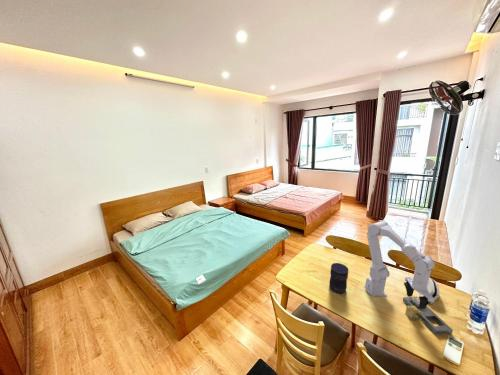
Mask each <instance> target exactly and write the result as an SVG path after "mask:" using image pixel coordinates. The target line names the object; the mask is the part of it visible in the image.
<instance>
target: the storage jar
mask: <svg viewBox="0 0 500 375" xmlns="http://www.w3.org/2000/svg"><path fill="white" fill-rule="evenodd" d="M330 265H331V266H330V277H329V286H328V287H329V290H330V291H331V292H333V293H334V294H336V295H337V294H338V295H344V294H345V293H346V292H347V287H348V282H347V281H348V278H349V268H348V267H347V265H345V264H343V263H340V262H334V263H332V264H330Z"/></svg>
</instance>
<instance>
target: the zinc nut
mask: <svg viewBox="0 0 500 375" xmlns="http://www.w3.org/2000/svg"><path fill="white" fill-rule="evenodd" d="M417 297H418V298H412V300H411V303H412V304H413V305H414V306H415V307H416V308H417V309H420V308H419V305H420V299H419V297H420V296H417Z"/></svg>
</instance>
